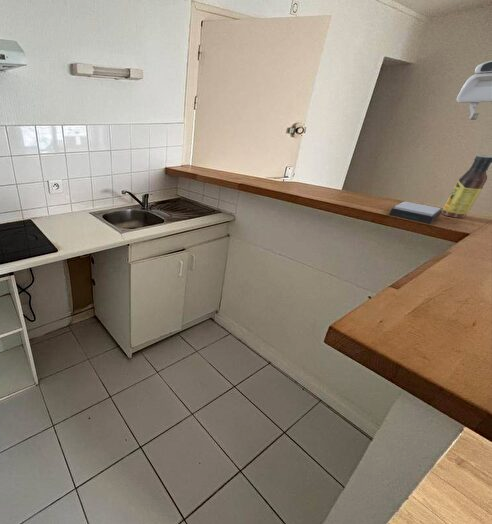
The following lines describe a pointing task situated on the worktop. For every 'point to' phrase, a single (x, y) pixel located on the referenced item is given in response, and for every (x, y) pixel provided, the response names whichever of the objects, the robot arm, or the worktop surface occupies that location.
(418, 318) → the worktop surface
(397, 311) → the worktop surface
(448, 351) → the worktop surface
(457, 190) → the sauce bottle
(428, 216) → the kitchen scale
